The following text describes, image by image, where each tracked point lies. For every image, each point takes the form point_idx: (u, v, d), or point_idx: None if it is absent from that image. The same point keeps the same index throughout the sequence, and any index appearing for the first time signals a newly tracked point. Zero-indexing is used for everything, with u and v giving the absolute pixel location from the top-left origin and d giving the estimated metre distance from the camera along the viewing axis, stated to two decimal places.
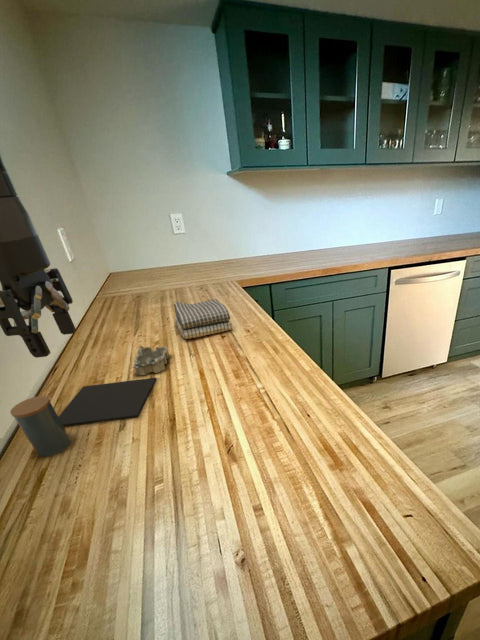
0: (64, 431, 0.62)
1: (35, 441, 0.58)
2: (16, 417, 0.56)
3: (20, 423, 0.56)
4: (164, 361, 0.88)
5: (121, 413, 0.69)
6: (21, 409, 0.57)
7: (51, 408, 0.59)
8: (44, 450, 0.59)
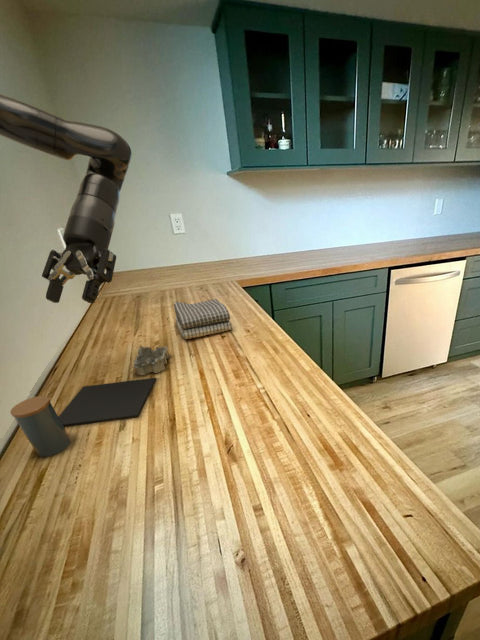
0: (64, 431, 0.62)
1: (35, 441, 0.58)
2: (16, 417, 0.56)
3: (20, 423, 0.56)
4: (164, 361, 0.88)
5: (121, 413, 0.69)
6: (21, 409, 0.57)
7: (51, 408, 0.59)
8: (44, 450, 0.59)
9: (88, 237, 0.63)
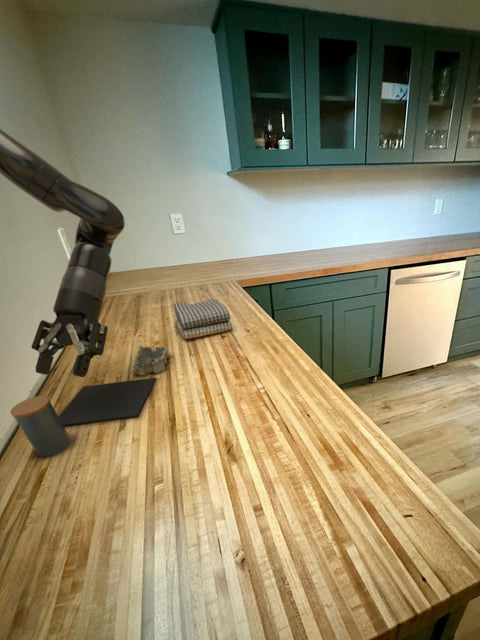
0: (64, 431, 0.62)
1: (35, 441, 0.58)
2: (16, 417, 0.56)
3: (20, 423, 0.56)
4: (164, 361, 0.88)
5: (121, 413, 0.69)
6: (21, 409, 0.57)
7: (51, 408, 0.59)
8: (44, 450, 0.59)
9: (79, 310, 0.63)
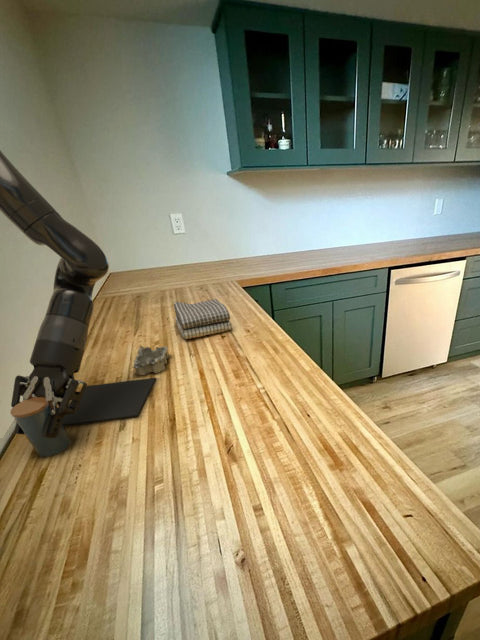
0: (64, 431, 0.62)
1: (35, 441, 0.58)
2: (16, 417, 0.56)
3: (20, 423, 0.56)
4: (164, 361, 0.88)
5: (121, 413, 0.69)
6: (21, 409, 0.57)
7: None
8: (44, 450, 0.59)
9: (57, 363, 0.59)
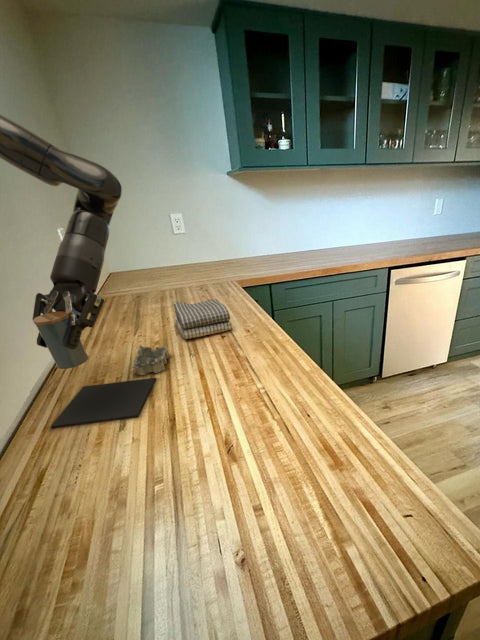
0: (82, 346, 0.65)
1: (56, 351, 0.61)
2: (38, 324, 0.59)
3: (42, 331, 0.59)
4: (164, 361, 0.88)
5: (121, 413, 0.69)
6: (43, 318, 0.60)
7: None
8: (64, 361, 0.62)
9: (76, 278, 0.62)
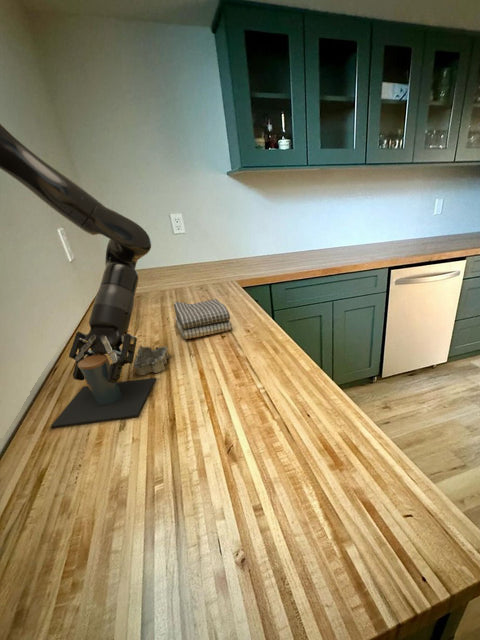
0: (117, 384, 0.74)
1: (96, 391, 0.70)
2: (83, 369, 0.68)
3: (85, 374, 0.69)
4: (164, 361, 0.88)
5: (121, 413, 0.69)
6: (86, 363, 0.69)
7: (109, 364, 0.71)
8: (103, 399, 0.72)
9: (112, 323, 0.71)
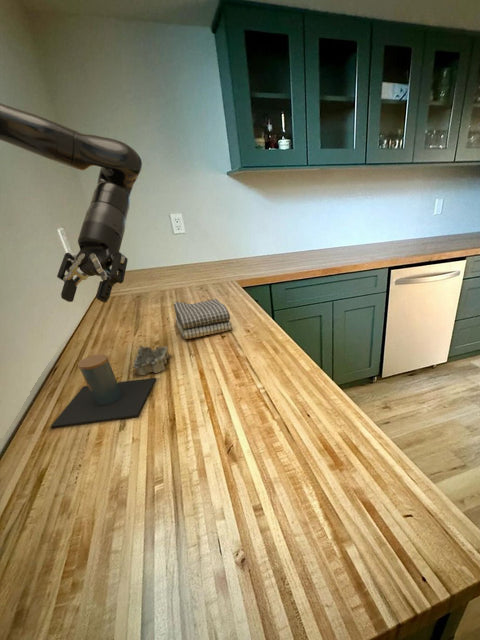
0: (117, 384, 0.74)
1: (96, 391, 0.70)
2: (83, 369, 0.68)
3: (85, 374, 0.69)
4: (164, 361, 0.88)
5: (121, 413, 0.69)
6: (86, 363, 0.69)
7: (109, 364, 0.71)
8: (103, 399, 0.72)
9: (102, 241, 0.68)
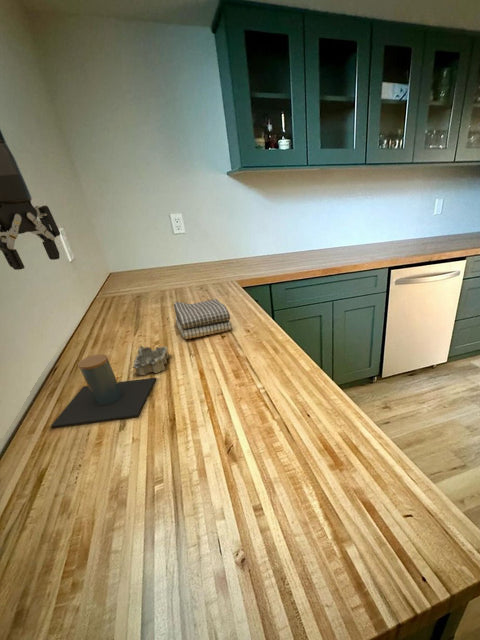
0: (117, 384, 0.74)
1: (96, 391, 0.70)
2: (83, 369, 0.68)
3: (85, 374, 0.69)
4: (164, 361, 0.88)
5: (121, 413, 0.69)
6: (86, 363, 0.69)
7: (109, 364, 0.71)
8: (103, 399, 0.72)
9: None
